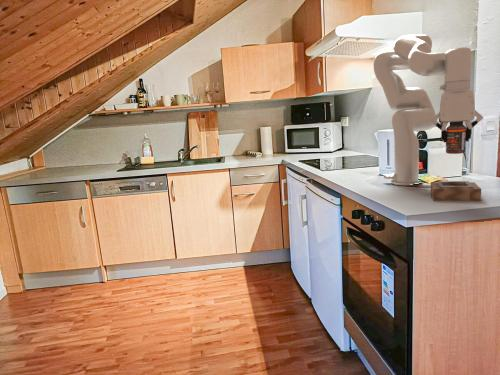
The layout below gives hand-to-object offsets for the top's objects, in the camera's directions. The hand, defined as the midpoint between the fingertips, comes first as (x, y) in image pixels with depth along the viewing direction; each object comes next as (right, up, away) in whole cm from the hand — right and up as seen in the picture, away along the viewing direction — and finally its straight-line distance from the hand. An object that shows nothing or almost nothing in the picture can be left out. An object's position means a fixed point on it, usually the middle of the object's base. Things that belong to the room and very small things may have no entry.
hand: (455, 141), depth 122 cm
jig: (+1, -19, +3) cm, 19 cm away
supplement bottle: (0, -4, +1) cm, 4 cm away
